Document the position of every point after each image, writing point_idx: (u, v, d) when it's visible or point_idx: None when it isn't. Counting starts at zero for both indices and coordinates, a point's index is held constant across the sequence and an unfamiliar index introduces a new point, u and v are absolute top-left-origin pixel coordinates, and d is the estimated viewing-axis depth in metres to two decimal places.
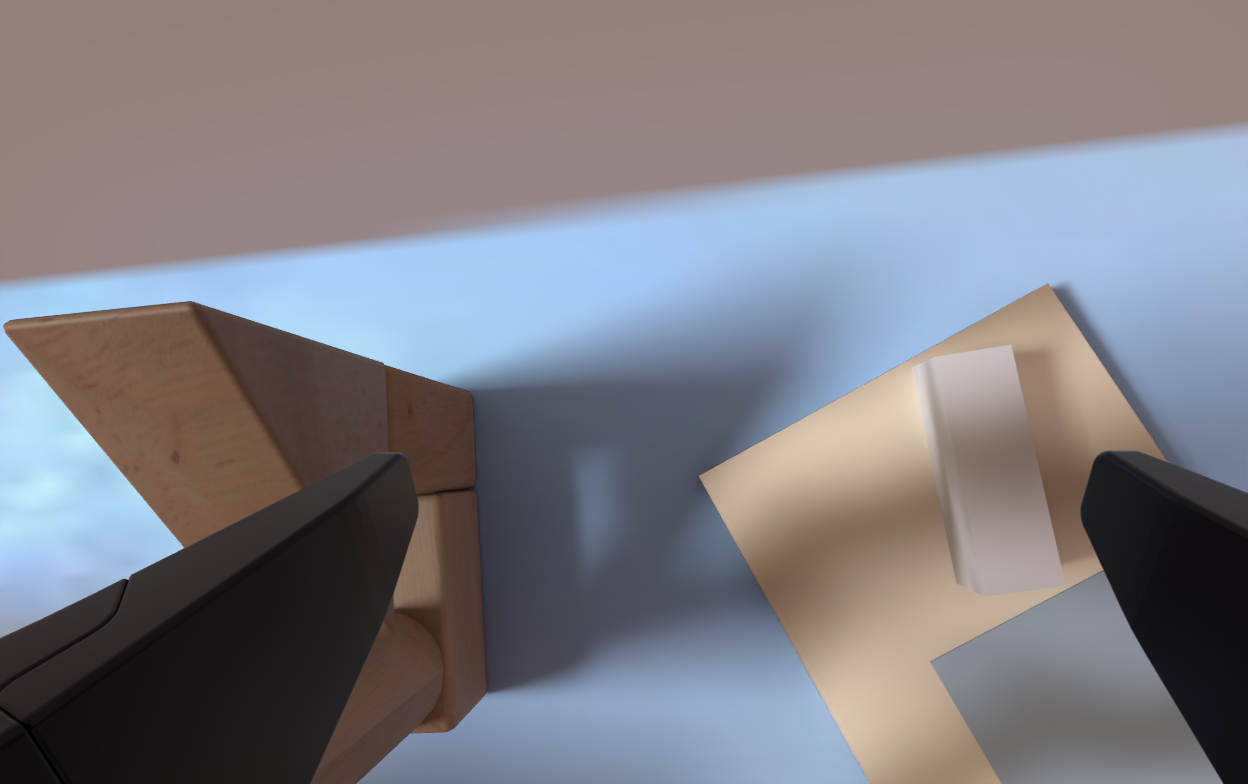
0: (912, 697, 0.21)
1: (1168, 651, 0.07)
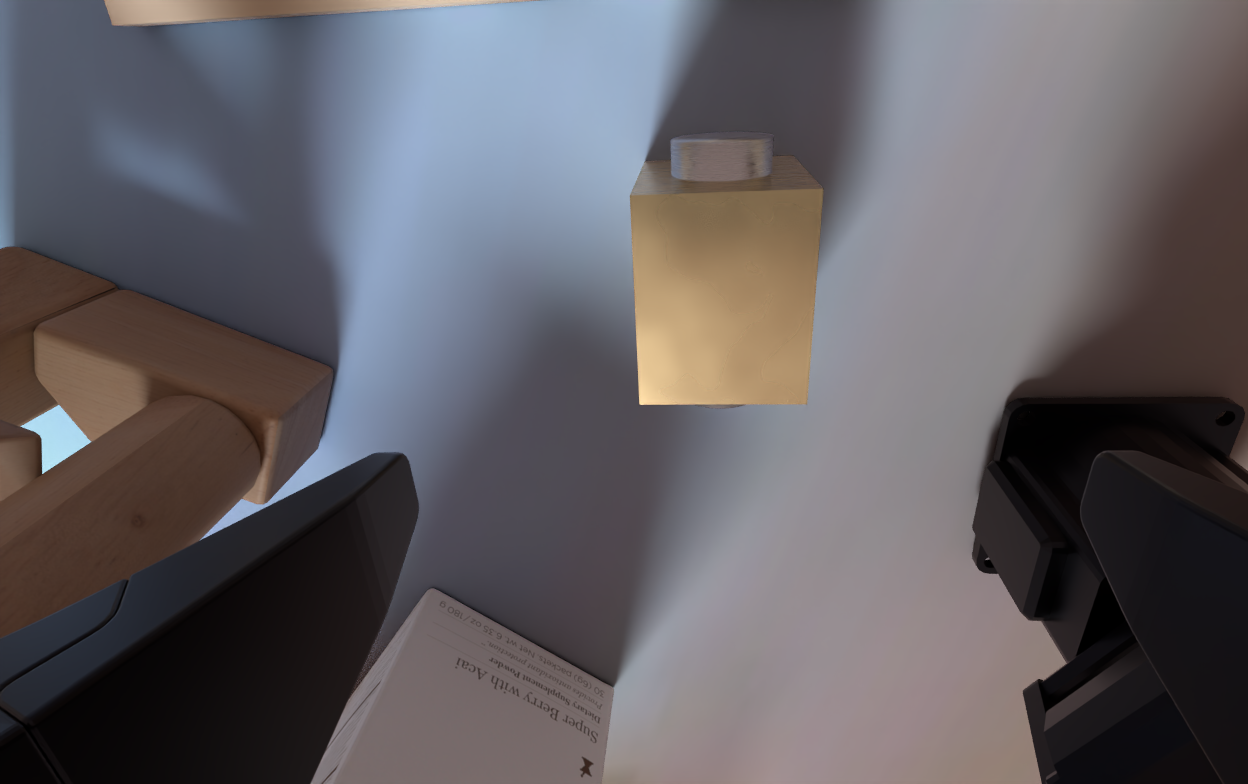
0: None
1: (1168, 651, 0.07)
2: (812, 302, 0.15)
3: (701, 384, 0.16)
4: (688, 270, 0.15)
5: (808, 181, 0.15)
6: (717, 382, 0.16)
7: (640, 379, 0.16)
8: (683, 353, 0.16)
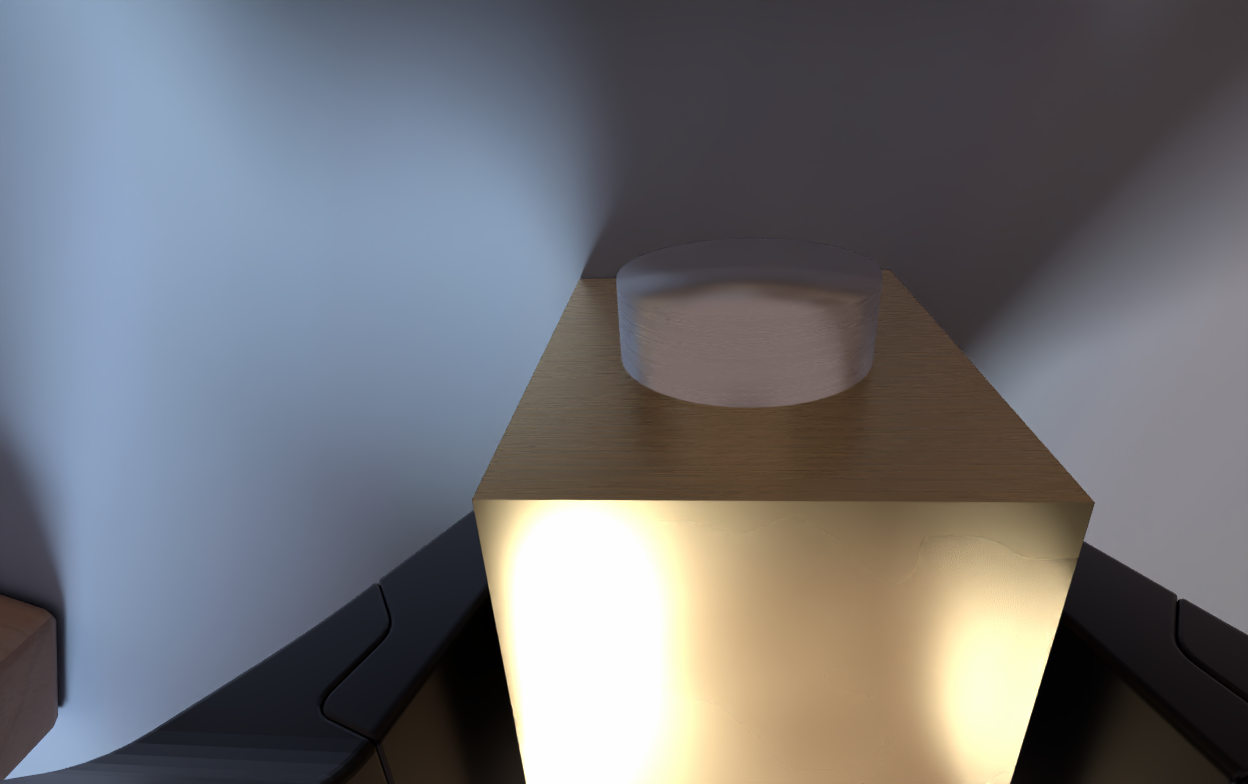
0: None
1: None
2: (1009, 757, 0.05)
3: None
4: (658, 676, 0.05)
5: (1006, 430, 0.05)
6: None
7: None
8: None
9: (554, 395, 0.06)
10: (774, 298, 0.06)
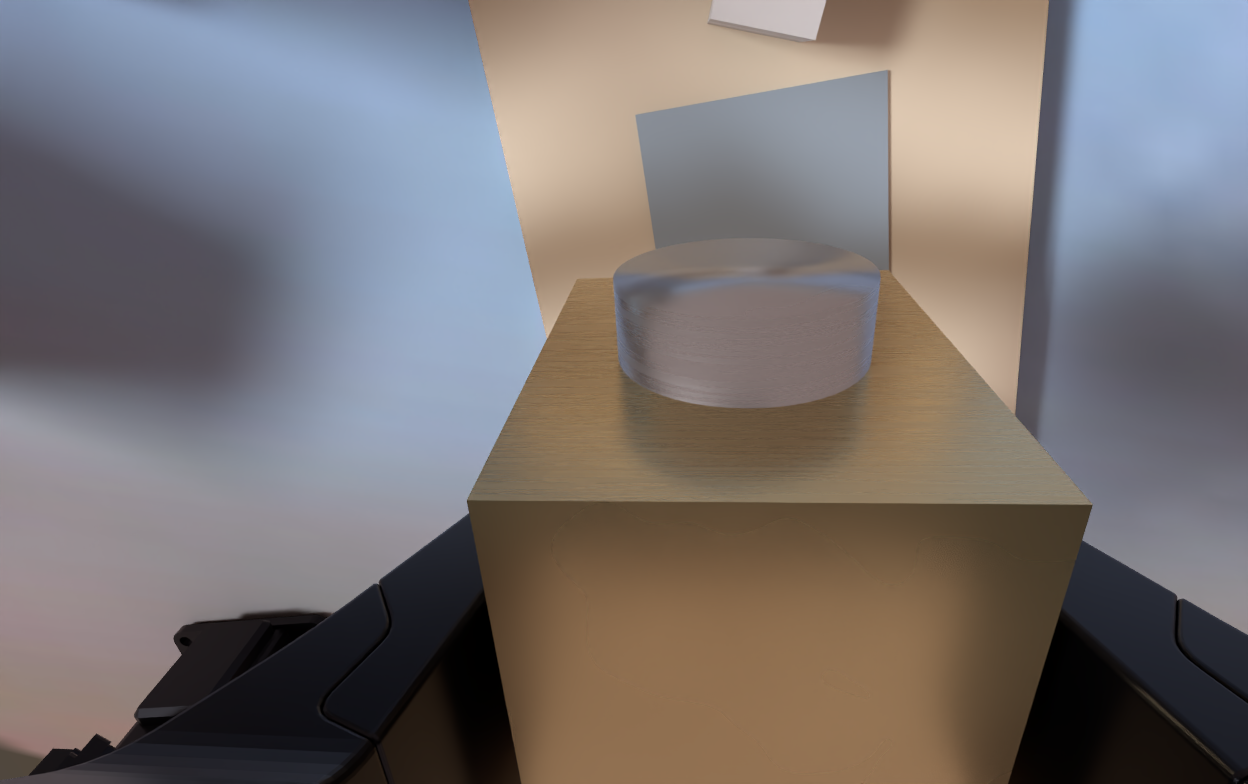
0: (599, 151, 0.17)
1: None
2: (1006, 760, 0.05)
3: None
4: (654, 678, 0.05)
5: (1004, 431, 0.05)
6: None
7: None
8: None
9: (550, 395, 0.06)
10: (771, 298, 0.06)
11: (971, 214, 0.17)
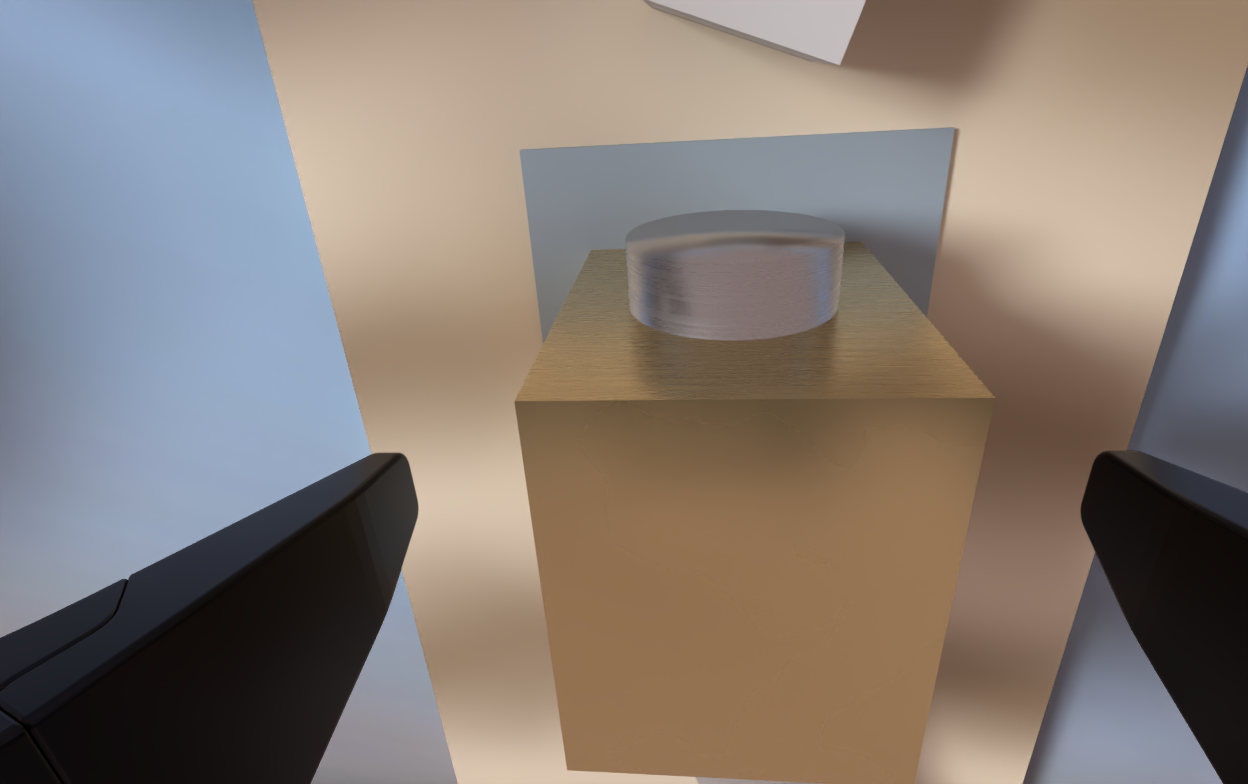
0: (459, 201, 0.10)
1: (1168, 651, 0.07)
2: (942, 620, 0.07)
3: (692, 746, 0.08)
4: (659, 552, 0.07)
5: (937, 353, 0.06)
6: (725, 745, 0.08)
7: (565, 733, 0.08)
8: (653, 695, 0.08)
9: (574, 333, 0.07)
10: (755, 251, 0.07)
11: (1052, 372, 0.11)
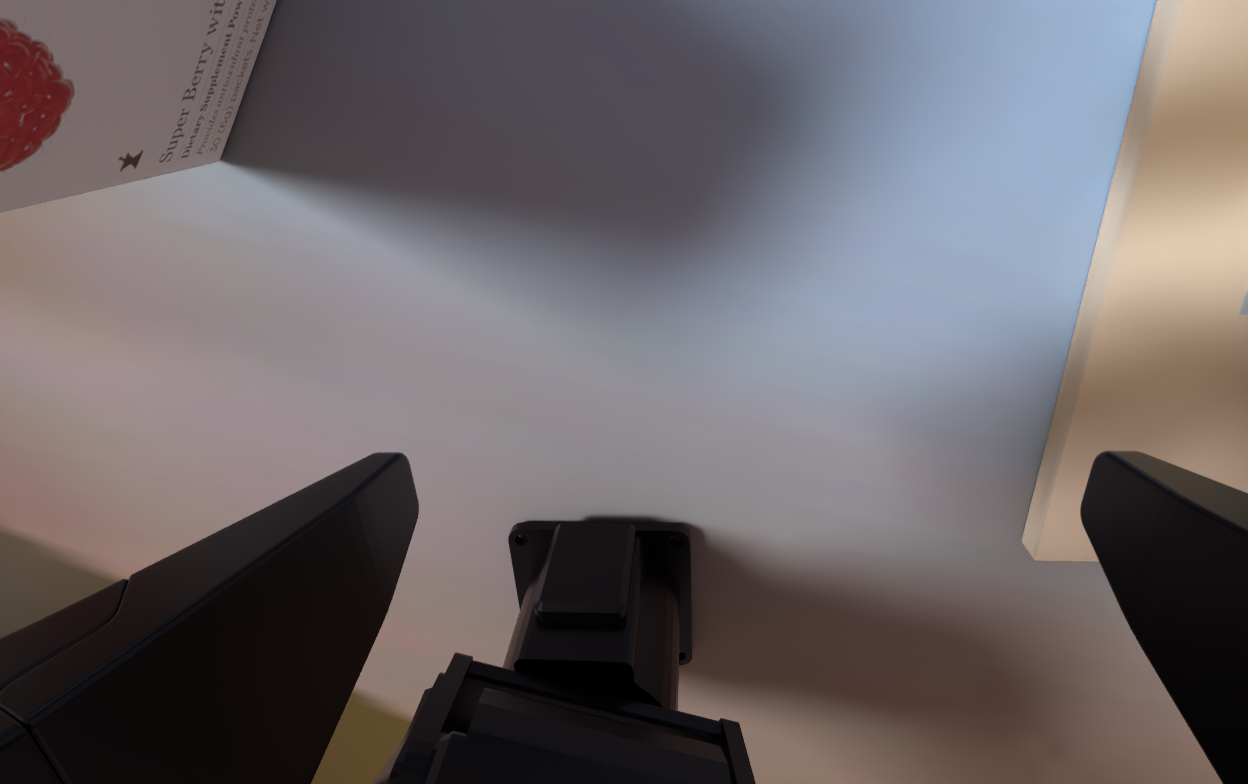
0: None
1: (1168, 651, 0.07)
2: None
3: None
4: None
5: None
6: None
7: None
8: None
9: None
10: None
11: None
